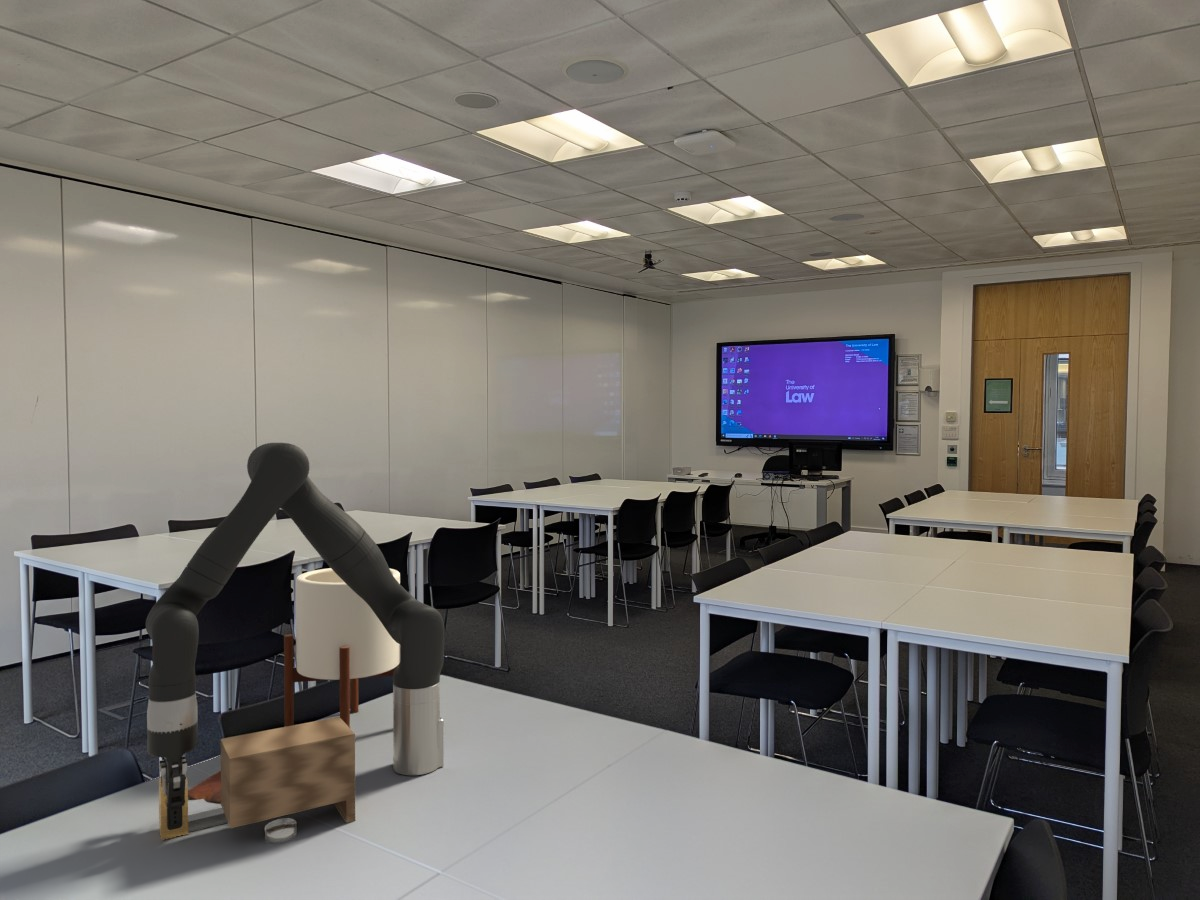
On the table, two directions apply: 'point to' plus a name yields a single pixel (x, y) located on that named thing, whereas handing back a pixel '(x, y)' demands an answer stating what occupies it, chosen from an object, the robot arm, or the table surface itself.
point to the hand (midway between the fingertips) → (173, 821)
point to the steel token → (280, 830)
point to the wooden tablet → (207, 789)
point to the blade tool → (187, 816)
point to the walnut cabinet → (288, 771)
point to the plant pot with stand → (335, 640)
